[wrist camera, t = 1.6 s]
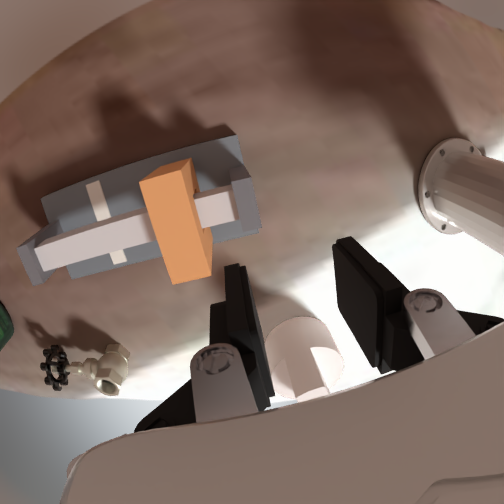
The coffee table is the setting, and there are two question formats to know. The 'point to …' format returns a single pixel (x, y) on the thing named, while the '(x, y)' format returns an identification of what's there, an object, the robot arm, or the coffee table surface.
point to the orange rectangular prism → (178, 221)
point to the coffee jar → (5, 327)
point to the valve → (89, 368)
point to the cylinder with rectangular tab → (303, 359)
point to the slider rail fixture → (137, 213)
